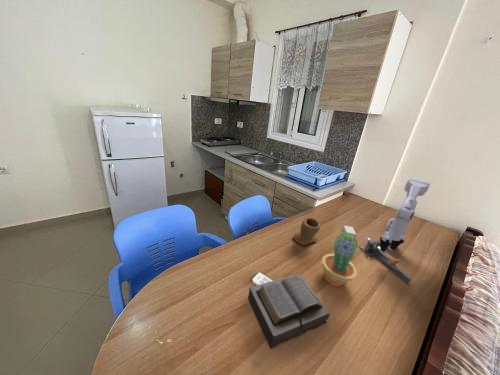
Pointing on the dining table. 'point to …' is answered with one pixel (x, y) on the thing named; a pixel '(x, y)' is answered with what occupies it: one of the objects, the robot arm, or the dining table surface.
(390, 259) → the metal rod with plate
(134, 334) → the dining table surface
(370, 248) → the grey hammer
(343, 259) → the potted cactus
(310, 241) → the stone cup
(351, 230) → the small box
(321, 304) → the bible
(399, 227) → the robot arm
